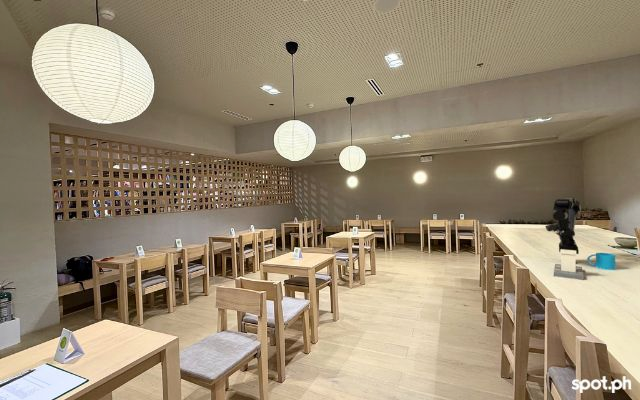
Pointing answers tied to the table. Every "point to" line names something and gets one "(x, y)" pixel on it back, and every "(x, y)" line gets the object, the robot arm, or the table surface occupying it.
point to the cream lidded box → (568, 260)
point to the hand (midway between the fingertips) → (563, 245)
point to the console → (566, 274)
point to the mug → (604, 261)
